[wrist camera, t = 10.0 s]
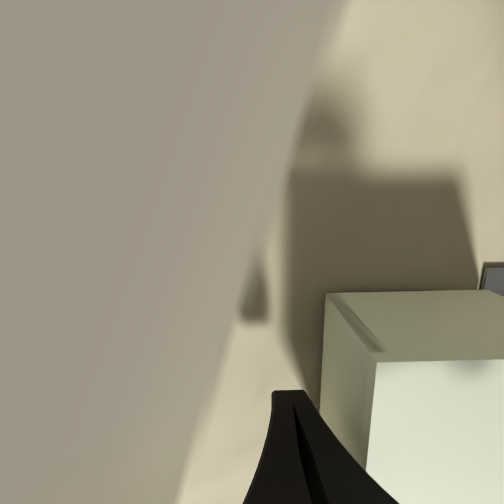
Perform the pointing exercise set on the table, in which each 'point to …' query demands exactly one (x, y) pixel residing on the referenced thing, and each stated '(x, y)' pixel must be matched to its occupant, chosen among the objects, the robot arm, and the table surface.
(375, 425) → the block
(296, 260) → the table surface
